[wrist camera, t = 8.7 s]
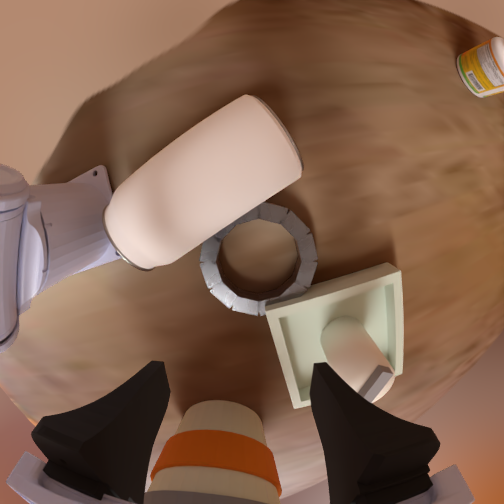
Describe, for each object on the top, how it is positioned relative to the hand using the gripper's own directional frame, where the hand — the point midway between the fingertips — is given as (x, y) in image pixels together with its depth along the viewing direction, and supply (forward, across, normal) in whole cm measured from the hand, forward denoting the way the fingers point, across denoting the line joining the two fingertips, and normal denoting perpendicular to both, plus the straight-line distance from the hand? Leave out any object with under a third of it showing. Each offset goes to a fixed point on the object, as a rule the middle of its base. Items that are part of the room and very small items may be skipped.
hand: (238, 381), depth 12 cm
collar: (+10, -1, -3) cm, 11 cm away
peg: (+10, -8, +4) cm, 14 cm away
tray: (+10, -8, +4) cm, 14 cm away
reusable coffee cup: (+11, +3, +16) cm, 20 cm away
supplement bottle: (+11, -25, -23) cm, 36 cm away
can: (+7, -2, -12) cm, 14 cm away
